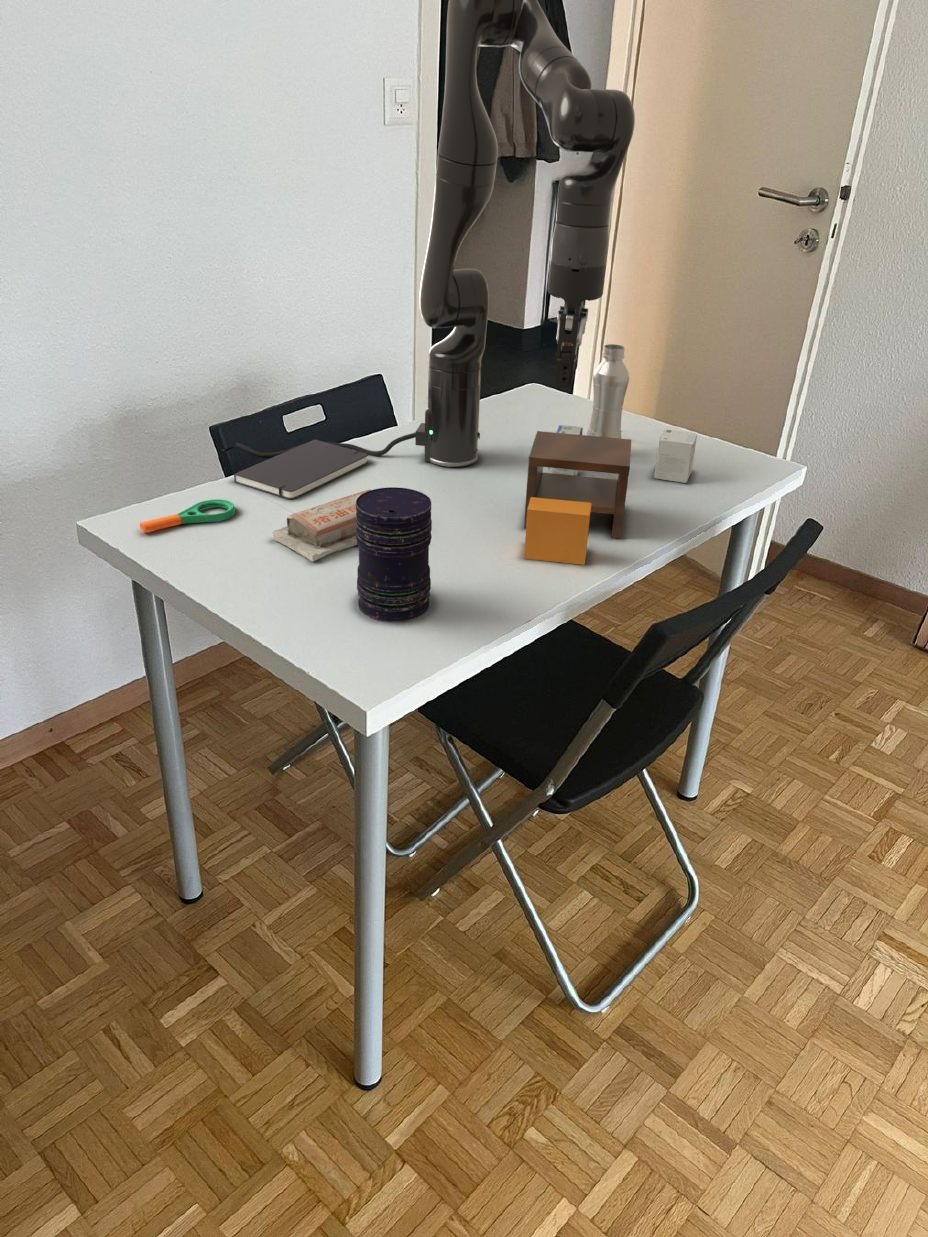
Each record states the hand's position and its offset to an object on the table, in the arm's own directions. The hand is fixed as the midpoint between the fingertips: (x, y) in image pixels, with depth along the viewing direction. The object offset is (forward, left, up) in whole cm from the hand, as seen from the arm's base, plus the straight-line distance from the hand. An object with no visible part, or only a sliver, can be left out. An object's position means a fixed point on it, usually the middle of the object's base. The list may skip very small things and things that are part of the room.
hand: (566, 378), depth 139 cm
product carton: (+19, +31, -25) cm, 45 cm away
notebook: (-45, +16, -25) cm, 54 cm away
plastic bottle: (+6, +39, -25) cm, 47 cm away
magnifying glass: (-56, -7, -25) cm, 62 cm away
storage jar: (-19, -26, -25) cm, 41 cm away
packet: (+1, -6, -25) cm, 26 cm away
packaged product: (-32, -7, -25) cm, 42 cm away
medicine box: (0, +24, -25) cm, 35 cm away
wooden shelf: (+3, +8, -25) cm, 27 cm away
